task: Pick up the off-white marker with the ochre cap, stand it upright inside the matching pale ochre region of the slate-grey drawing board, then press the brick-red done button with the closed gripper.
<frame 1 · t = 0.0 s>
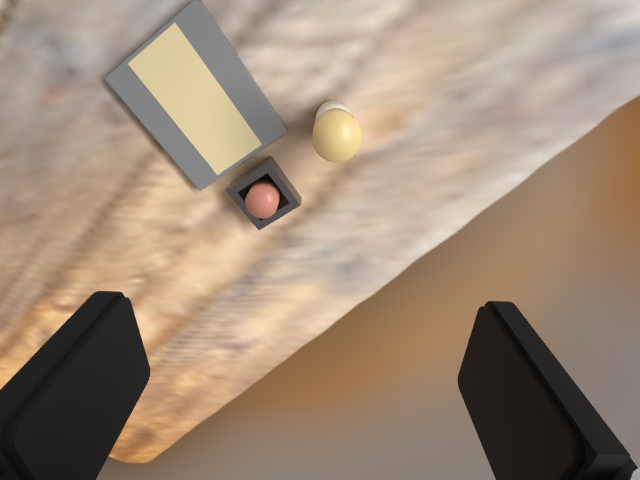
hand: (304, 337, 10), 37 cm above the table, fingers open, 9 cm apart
marker: (333, 119, 42), on the table
done button: (263, 199, 44), point 3 cm above the table, slide at 0.0 cm
button housing: (266, 191, 47), on the table
drawing board: (201, 104, 42), on the table
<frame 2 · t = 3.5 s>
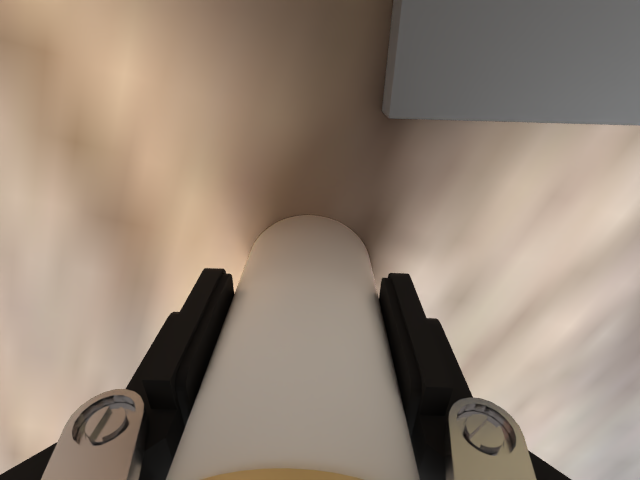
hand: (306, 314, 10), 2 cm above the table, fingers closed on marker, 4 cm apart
marker: (309, 270, 12), on the table, touching gripper
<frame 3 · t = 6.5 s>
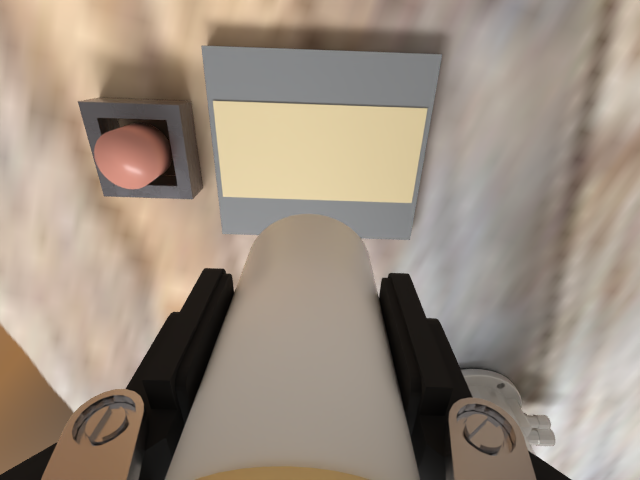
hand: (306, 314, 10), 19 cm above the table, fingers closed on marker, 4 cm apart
marker: (309, 269, 12), point 17 cm above the table, touching gripper
done button: (135, 155, 25), point 3 cm above the table, slide at 0.0 cm
button housing: (153, 145, 27), on the table
drawing board: (319, 151, 27), on the table
when the fingers open (5 cm above the table, at t = 9.6 s): marker drops 1 cm, resting on drawing board.
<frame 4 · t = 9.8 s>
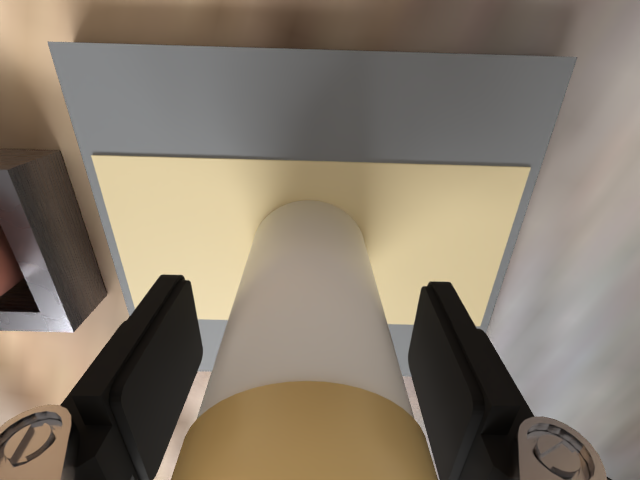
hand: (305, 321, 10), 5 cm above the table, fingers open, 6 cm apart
marker: (308, 252, 14), point 1 cm above the table, touching drawing board
button housing: (6, 228, 15), on the table
drawing board: (311, 236, 15), on the table
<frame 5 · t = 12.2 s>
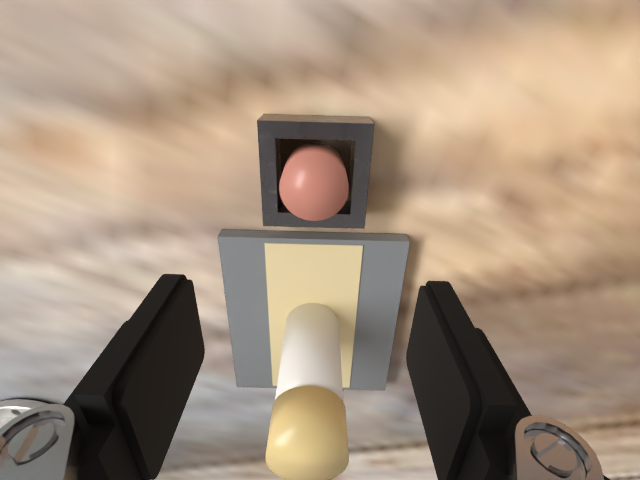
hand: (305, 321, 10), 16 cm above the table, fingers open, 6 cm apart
marker: (312, 323, 29), point 1 cm above the table, touching drawing board
done button: (314, 181, 21), point 3 cm above the table, slide at 0.0 cm
button housing: (315, 167, 24), on the table
drawing board: (312, 314, 30), on the table
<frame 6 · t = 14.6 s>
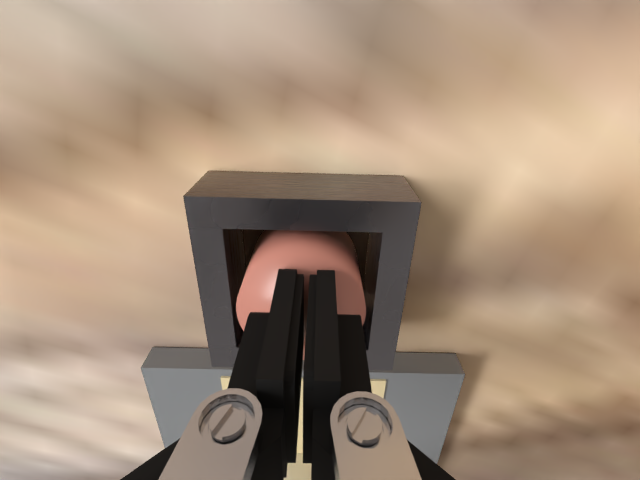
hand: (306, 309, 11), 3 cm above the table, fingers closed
marker: (303, 477, 19), point 1 cm above the table, touching drawing board
done button: (303, 284, 12), point 2 cm above the table, slide at 1.1 cm, touching gripper
button housing: (305, 257, 14), on the table
drawing board: (304, 453, 20), on the table
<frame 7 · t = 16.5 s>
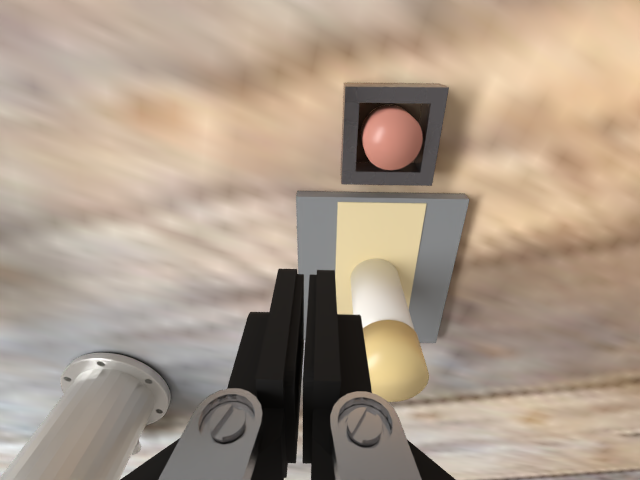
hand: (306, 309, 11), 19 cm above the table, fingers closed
marker: (374, 278, 32), point 1 cm above the table, touching drawing board
done button: (389, 136, 25), point 2 cm above the table, slide at 1.2 cm
button housing: (386, 131, 27), on the table
drawing board: (372, 271, 33), on the table
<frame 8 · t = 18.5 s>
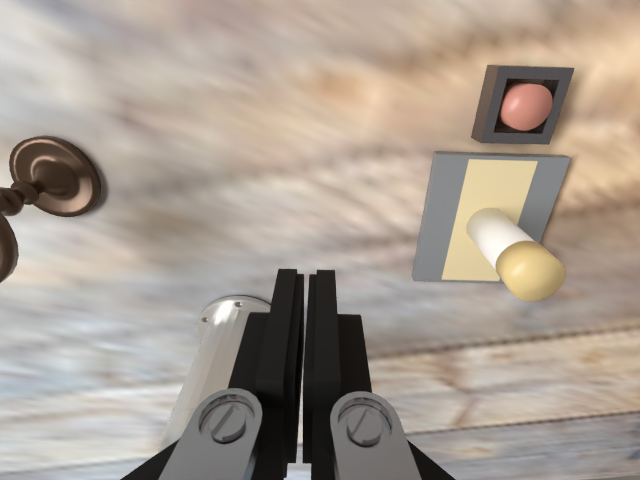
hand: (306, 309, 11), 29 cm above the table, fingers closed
marker: (485, 225, 40), point 1 cm above the table, touching drawing board
done button: (521, 106, 33), point 2 cm above the table, slide at 1.2 cm
candlestick: (60, 176, 39), on the table
button housing: (512, 103, 35), on the table
drawing board: (481, 220, 41), on the table
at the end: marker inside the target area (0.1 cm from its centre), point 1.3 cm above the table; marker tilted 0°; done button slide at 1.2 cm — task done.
